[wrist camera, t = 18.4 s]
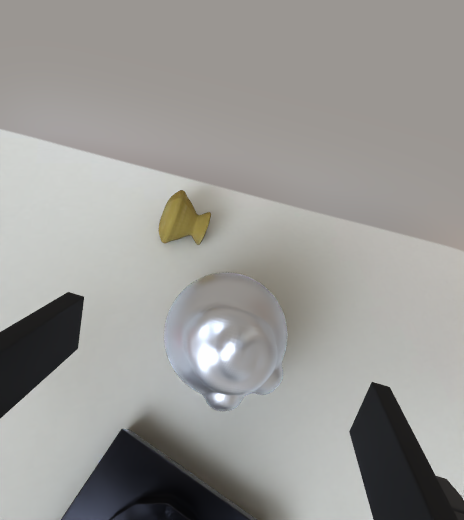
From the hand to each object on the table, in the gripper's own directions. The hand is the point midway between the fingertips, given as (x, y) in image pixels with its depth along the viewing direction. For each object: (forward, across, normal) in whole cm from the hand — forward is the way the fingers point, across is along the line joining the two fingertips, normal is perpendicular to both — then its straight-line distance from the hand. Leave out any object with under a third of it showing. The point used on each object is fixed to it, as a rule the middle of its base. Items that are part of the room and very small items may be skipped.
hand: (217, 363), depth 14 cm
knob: (+19, -7, 0) cm, 20 cm away
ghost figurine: (+12, 0, -7) cm, 14 cm away
